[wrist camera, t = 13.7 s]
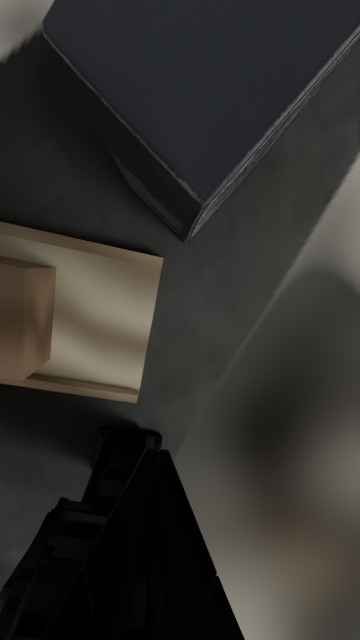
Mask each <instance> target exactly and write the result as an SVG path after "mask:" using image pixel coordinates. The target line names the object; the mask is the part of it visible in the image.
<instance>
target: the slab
mask: <svg viewBox="0 0 360 640" xmlns="http://www.w3.org/2000/svg"><path fill="white" fill-rule="evenodd" d="M56 270H57V268H54V267H50V266H45V265H41V264H36V263H32V262H28V261H23V260H19V259H14V258H10V257H5V256H1V255H0V378H1V379H7V380H13V381H19V382H22V381H23V380H24V379H26V378H27V377H28V376H30V375H31V374H32V373H33V372H35V371H36V370H37V369H39V368H40V367H41V366H42V365H44V364H45V363H46V362H48V361H49V360H50V355H51V341H52V327H53V312H54V298H55V284H56Z"/></svg>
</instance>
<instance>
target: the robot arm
mask: <svg viewBox="0 0 360 640" xmlns="http://www.w3.org/2000/svg"><path fill="white" fill-rule="evenodd" d="M104 432H105V433H104ZM157 439H158V440H157ZM161 444H162V435H160V434H156V433H149V432H141V431H134V430H126V429H119V428H111V427H101V428H100V429H99V432H98V436H97V444H96V451H95V459H94V467H93V471H92V474H91V476H90V479H89V481H88V484H87V487H86V489H85V492H84V495H83V497H82V500H81V502H76V501H70V500H68V498H63V497H61V498H60V500H59V502H58V504H57V506H56V507H55V509H52V510H51V512H49V513H47V515H46V517H45V519H44V521H43V523H42V525H41V527H40V529H39V531H38V533H37V535H36V537H35V539H34V541H33V542H32V544H31V546H30V547H29V549H28V550H27V552H26V553H25V555H24V556H23V558H22V559H21V561H20V562H19V564H18V565H17V567H16V568H15V570H14V571H13V573H12V574H11V576H10V577H9V579H8V580H7V582H6V584H5V585H4V587H3V589H2V591H1V593H0V640H245V639H244V636H243V634H242V632H241V630H240V628H239V625H238V623H237V620H236V618H235V615H234V613H233V611H232V609H231V606H230V604H229V601H228V599H227V596H226V594H225V592H224V589H223V586H222V584H221V581H220V579H219V577H218V576H216V574H217V571H216V569H215V566H214V564H213V561H212V559H211V556H210V554H209V551H208V549H207V546H206V544H205V541H204V539H203V536H202V534H201V531H200V529H199V526H198V523H197V521H196V519H195V516H194V514H193V511H192V508H191V506H190V503H189V501H188V498H187V496H186V493H185V491H184V488H183V486H182V483H181V480H180V478H179V475H178V473H177V470H176V468H175V465H174V463H173V460H172V458H171V455H170V453H169V451H168V450H163V449H160V448H161Z"/></svg>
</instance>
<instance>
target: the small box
mask: <svg viewBox="0 0 360 640" xmlns="http://www.w3.org/2000/svg"><path fill="white" fill-rule="evenodd" d="M41 29H42V33H43V36H44V38H45V39H46V41H47V43H48V45H49V47H50V48H51V50H52V51H53V53H54V55H55V57H56V59H57V61H58V63H59V64H60V66H61V67H62V69H63V70H64V72H65V73H66V75H67V77H68V79H69V81H70V83H71V84H72V86H73V88H74V90H75V92H76V93H77V95H78V97H79V99H80V100H81V102H82V104H83V105H84V107H85V109H86V111H87V113H88V115H89V116H90V118H91V120H92V122H93V123H94V125H95V127H96V129H97V130H98V132H99V134H100V136H101V138H102V139H103V141H104V143H105V145H106V147H107V148H108V150H109V152H110V154H111V155H112V157H113V159H114V161H115V163H116V165H117V166H118V168H119V170H120V172H121V173H122V175H123V177H124V179H125V181H126V182H127V185H128V187H129V188H130V189H131V190H132V191H133V192H134V193H135V194H136V195H137V196H138V197H139V198H140V199H141V200H142V202H143V203H144V204H146V205H147V206H148V207H149V208H150V210H151V211H152V212H154V213H155V215H156V216H157V217H158V218H159V219H160V220H162V222H163V223H164V224H166V226H167V227H169V229H170V230H171V231H172V232H173V233H174V234H175V235H176V236H177V237H178V238H179V239H180V240H181V241H182V242H184V243H187V242H189V240H190V239H191V238H192V237H193V236H194V235H195V234H196V233H197V231H198V230H199V229H200V228H201V227H202V226H203V225H204V224H205V222H206V221H207V220H208V219H209V218H210V217H211V216H212V214H213V213H214V212H215V211H216V210H217V209H218V208H219V207H220V205H221V204H222V203H223V202H224V201H225V200H226V199H227V198H228V197H229V195H230V194H231V193H232V192H233V191H234V190H235V189H236V187H237V186H238V185H239V184H240V183H241V182H242V181H243V180H244V179H245V178H246V176H247V175H248V174H250V172H251V171H252V170H253V168H254V167H255V166H256V165H257V164H258V163H259V162H260V161H261V160H262V158H263V157H264V156H265V154H266V153H267V152H268V151H269V150H270V149H271V147H272V146H273V145H274V144H275V143H276V141H277V140H278V139H279V138H280V137H281V136H282V135H283V134H284V132H285V131H286V130H287V128H288V127H289V126H290V125H291V124H292V123H293V121H294V120H295V118H296V117H297V116H298V115H299V113H300V112H301V111H302V110H303V108H304V107H305V106H306V104H307V103H308V102H309V100H310V99H311V98H312V97H313V96H314V95H315V93H316V92H317V90H318V89H319V88H320V87H321V86H322V84H323V83H324V82H325V81H326V79H327V78H328V77H329V76H330V74H331V73H332V72H333V71H334V69H335V68H336V67H337V66H338V65H339V64H340V62H341V61H342V60H343V59H344V58H345V57H346V56H347V55H348V53H349V52H350V51H351V50H352V48H353V47H354V46H355V45H356V43H357V42H358V41H359V40H360V0H55V1H54V2H53V4H52V6H51V7H50V9H49V11H48V12H47V14H46V16H45V17H44V19H43V21H42V24H41Z"/></svg>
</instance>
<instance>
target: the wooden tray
mask: <svg viewBox="0 0 360 640" xmlns="http://www.w3.org/2000/svg"><path fill="white" fill-rule="evenodd" d="M0 255H1V256H5V257H10V258H14V259H19V260H23V261H28V262H32V263H36V264H41V265H45V266H50V267H54V268H57V270H56V284H55V298H54V312H53V327H52V341H51V355H50V360H49V361H48V362H46V363H45V364H44V365H42V366H41V367H40V368H39V369H37V370H36V371H35V372H33V373H32V374H31V375H30V376H28V377H27V378H26V379H24V380H23V381H22V382H19V381H13V380H7V379H1V378H0V383H2V384H9V385H15V386H22V387H29V388H36V389H43V390H49V391H56V392H63V393H70V394H76V395H83V396H90V397H97V398H104V399H110V400H117V401H124V402H131V403H137V399H138V395H139V389H140V384H141V378H142V373H143V368H144V362H145V357H146V351H147V346H148V340H149V335H150V329H151V324H152V318H153V313H154V307H155V302H156V296H157V291H158V286H159V280H160V275H161V269H162V264H163V258H161V257H157V256H152V255H148V254H143V253H139V252H134V251H130V250H125V249H121V248H116V247H112V246H107V245H103V244H98V243H94V242H89V241H85V240H80V239H76V238H71V237H67V236H63V235H58V234H54V233H49V232H45V231H40V230H36V229H31V228H27V227H22V226H18V225H13V224H9V223H4V222H0Z"/></svg>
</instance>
